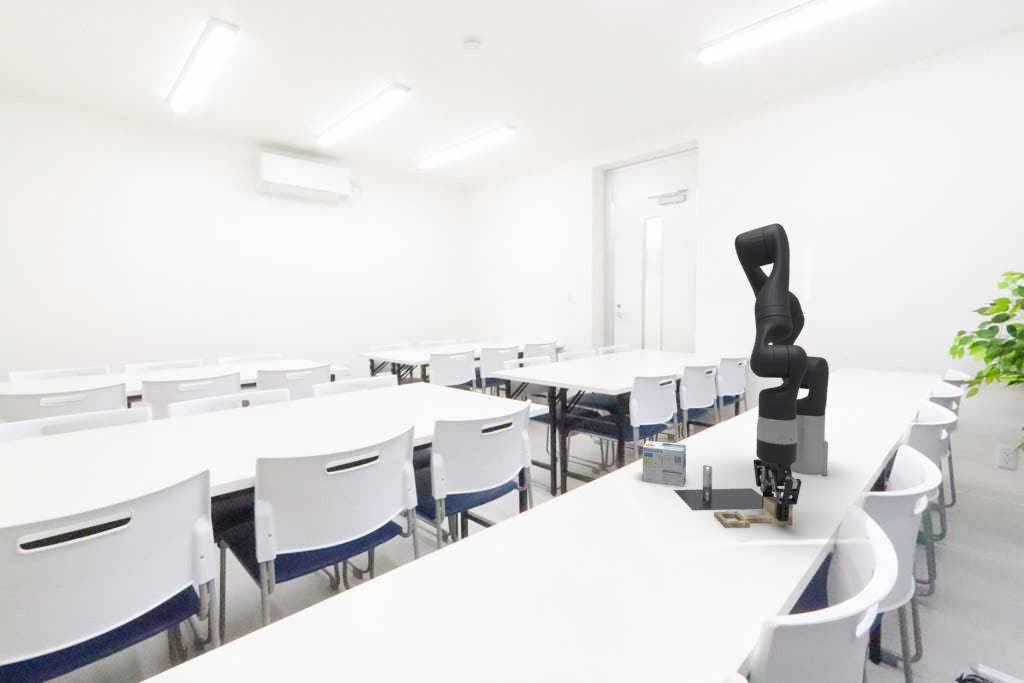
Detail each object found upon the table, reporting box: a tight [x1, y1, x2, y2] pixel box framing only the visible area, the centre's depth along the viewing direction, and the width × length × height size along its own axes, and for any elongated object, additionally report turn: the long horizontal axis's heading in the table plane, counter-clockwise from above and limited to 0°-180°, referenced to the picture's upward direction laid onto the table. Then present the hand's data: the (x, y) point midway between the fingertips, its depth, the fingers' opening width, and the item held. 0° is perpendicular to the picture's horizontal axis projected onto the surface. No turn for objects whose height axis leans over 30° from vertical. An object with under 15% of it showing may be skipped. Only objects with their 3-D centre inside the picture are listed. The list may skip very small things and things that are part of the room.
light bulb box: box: [642, 440, 687, 488], centre depth 125 cm, size 11×7×11 cm, turn 65°
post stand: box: [673, 464, 763, 511], centre depth 112 cm, size 20×12×9 cm, turn 91°
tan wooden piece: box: [713, 496, 794, 529], centre depth 100 cm, size 15×5×5 cm, turn 91°
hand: (774, 514), depth 100 cm, fingers open, 4 cm apart
